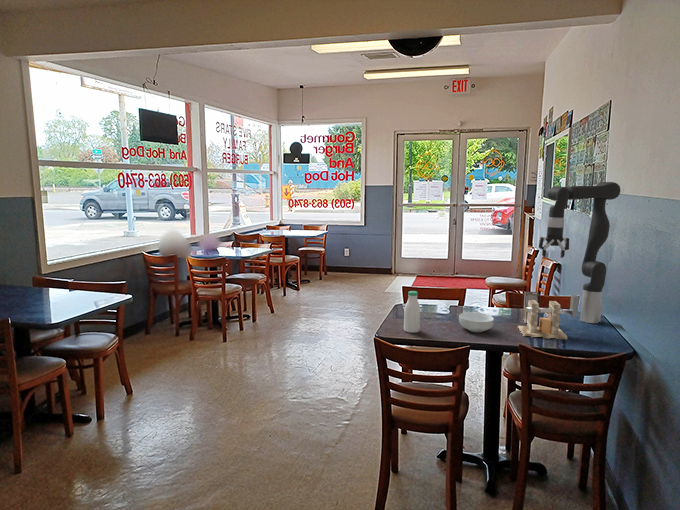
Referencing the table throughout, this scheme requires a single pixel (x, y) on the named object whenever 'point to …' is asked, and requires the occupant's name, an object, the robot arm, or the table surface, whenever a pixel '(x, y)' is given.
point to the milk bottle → (412, 313)
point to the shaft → (572, 311)
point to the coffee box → (527, 297)
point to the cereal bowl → (476, 321)
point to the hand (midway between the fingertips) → (552, 257)
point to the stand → (533, 318)
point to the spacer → (545, 325)
